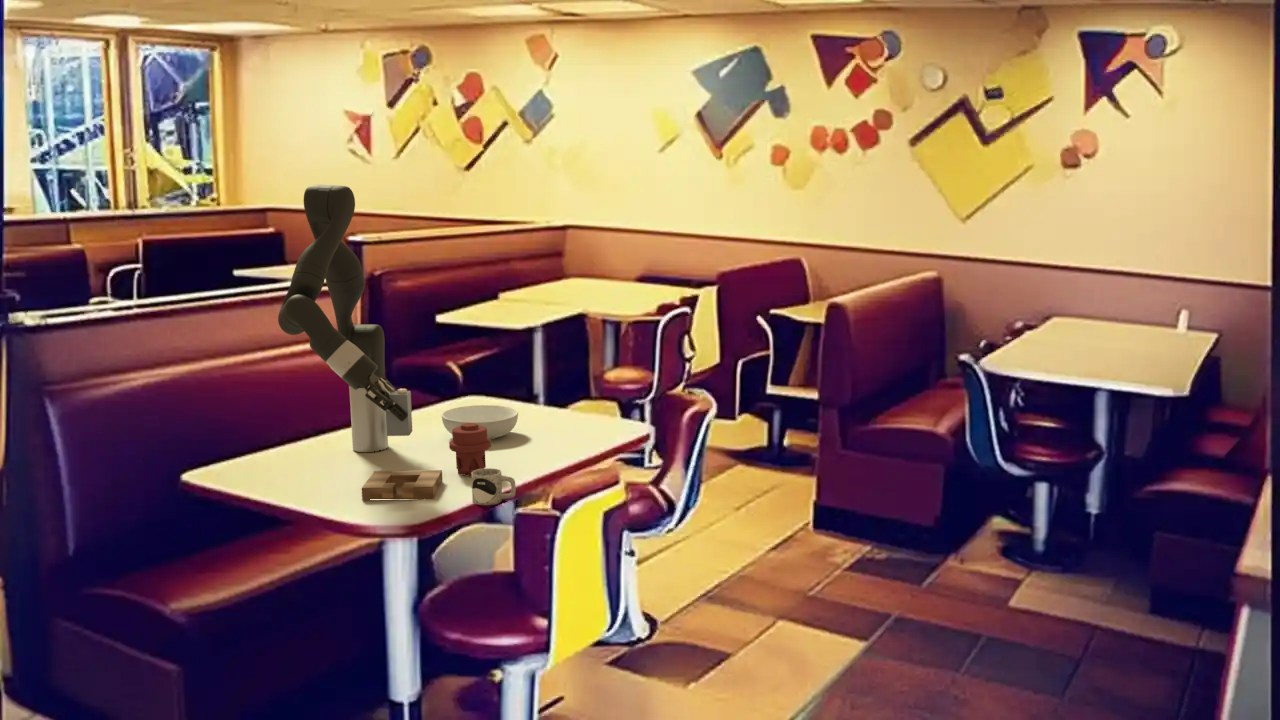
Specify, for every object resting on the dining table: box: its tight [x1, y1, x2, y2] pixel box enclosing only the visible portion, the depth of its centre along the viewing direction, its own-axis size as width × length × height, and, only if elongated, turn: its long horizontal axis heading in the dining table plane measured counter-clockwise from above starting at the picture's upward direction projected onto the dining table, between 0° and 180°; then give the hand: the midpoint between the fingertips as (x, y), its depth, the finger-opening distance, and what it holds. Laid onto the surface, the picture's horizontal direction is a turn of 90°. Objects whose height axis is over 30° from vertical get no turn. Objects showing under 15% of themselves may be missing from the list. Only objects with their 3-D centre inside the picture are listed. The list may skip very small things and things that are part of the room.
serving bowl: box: [441, 404, 519, 440], centre depth 322 cm, size 21×21×7 cm
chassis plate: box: [361, 469, 443, 501], centre depth 271 cm, size 14×16×3 cm
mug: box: [471, 467, 517, 506], centre depth 262 cm, size 10×7×7 cm, turn 80°
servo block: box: [385, 388, 413, 437], centre depth 268 cm, size 4×5×10 cm
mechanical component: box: [448, 423, 492, 478], centre depth 284 cm, size 12×10×10 cm
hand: (407, 415), depth 268 cm, fingers closed on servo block, 4 cm apart
